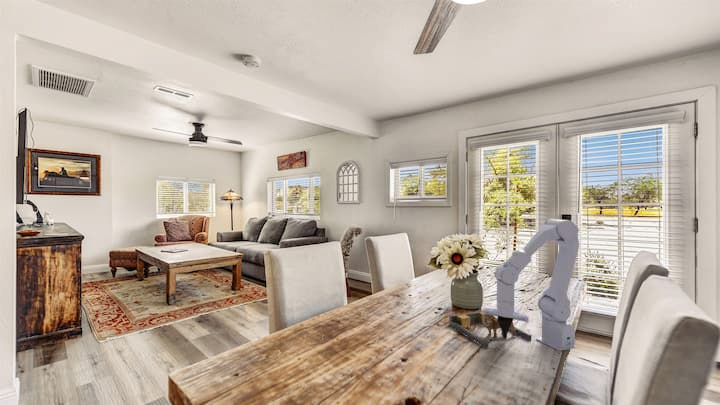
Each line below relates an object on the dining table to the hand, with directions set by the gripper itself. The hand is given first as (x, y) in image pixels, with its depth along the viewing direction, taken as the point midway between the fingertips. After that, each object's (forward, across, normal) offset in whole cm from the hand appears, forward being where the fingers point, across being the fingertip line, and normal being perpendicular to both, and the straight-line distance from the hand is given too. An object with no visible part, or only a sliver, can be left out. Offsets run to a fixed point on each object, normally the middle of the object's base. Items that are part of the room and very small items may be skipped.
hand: (505, 337), depth 108 cm
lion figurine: (+2, +2, -4) cm, 4 cm away
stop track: (+2, +6, -6) cm, 9 cm away
